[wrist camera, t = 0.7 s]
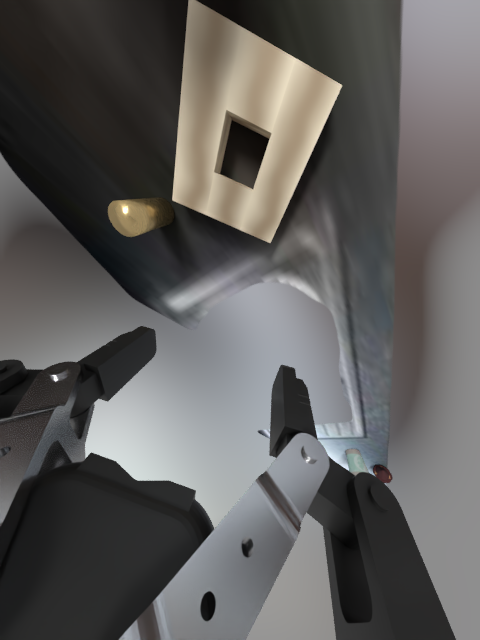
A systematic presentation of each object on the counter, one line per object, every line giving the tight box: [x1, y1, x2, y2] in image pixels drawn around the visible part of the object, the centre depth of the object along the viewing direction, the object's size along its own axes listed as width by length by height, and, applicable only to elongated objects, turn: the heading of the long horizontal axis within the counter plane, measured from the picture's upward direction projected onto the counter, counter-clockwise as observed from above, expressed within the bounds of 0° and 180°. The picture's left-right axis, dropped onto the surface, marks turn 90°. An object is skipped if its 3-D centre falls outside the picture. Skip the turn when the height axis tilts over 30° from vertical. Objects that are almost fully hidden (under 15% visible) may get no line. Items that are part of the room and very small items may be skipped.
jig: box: [172, 0, 342, 243], centre depth 22 cm, size 16×16×4 cm
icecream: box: [373, 465, 392, 483], centre depth 85 cm, size 7×7×15 cm
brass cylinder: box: [108, 197, 174, 237], centre depth 25 cm, size 4×4×10 cm
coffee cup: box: [346, 449, 369, 476], centre depth 76 cm, size 8×8×12 cm
